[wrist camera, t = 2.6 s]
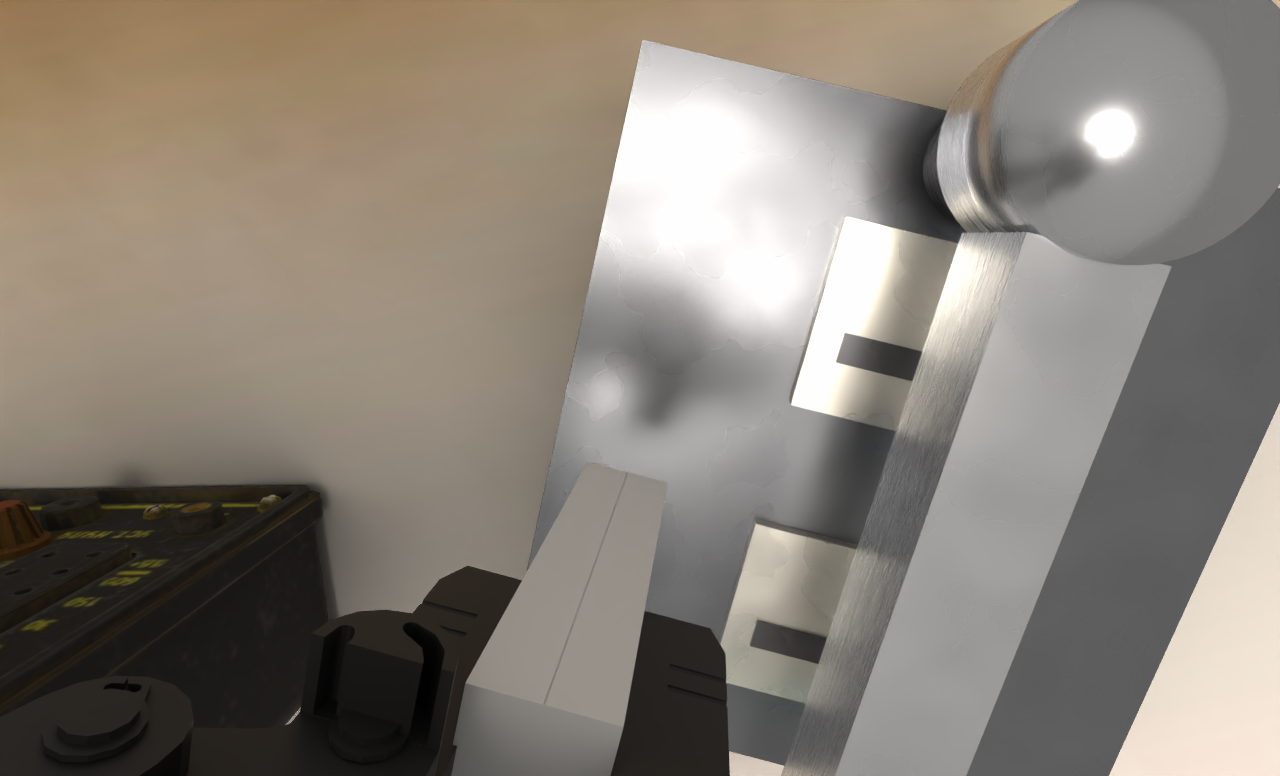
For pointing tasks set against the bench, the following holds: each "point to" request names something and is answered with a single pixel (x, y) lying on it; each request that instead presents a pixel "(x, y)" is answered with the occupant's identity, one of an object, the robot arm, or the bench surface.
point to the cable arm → (1033, 349)
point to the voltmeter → (163, 594)
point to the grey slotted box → (876, 399)
